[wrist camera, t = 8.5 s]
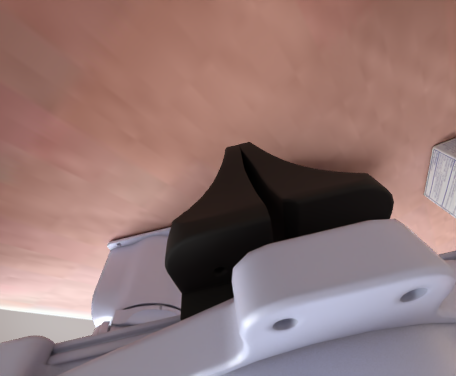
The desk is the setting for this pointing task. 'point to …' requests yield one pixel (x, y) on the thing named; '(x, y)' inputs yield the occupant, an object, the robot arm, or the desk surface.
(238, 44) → the desk surface
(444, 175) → the medicine box
